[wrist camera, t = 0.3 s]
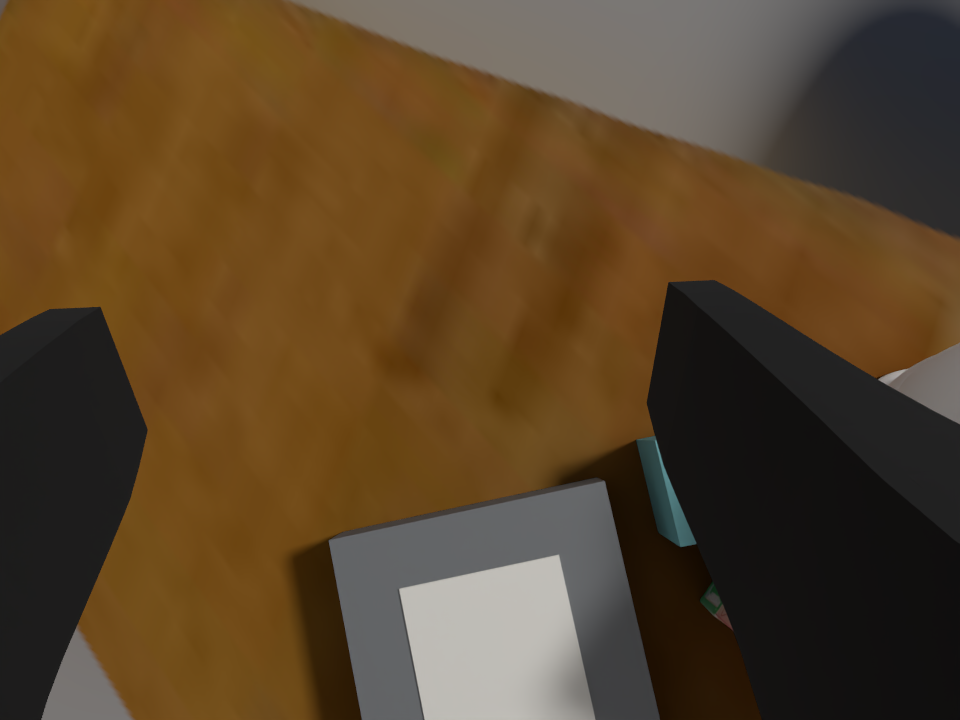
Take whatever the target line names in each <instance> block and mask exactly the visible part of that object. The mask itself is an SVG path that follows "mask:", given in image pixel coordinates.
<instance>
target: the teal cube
mask: <svg viewBox="0 0 960 720" xmlns="http://www.w3.org/2000/svg"><path fill="white" fill-rule="evenodd" d="M636 442H637V446H638V450H639V454H640V459H641V463H642V467H643V471H644V475H645V480H646V484H647V488H648V492H649V496H650V500H651V505H652V509H653V513H654V517H655V521H656V526H657V530H658V533H659V534H661V535H663V536H664V537H666V538H667V539H669V540H670V541H672V542H673V543H675V544H676V545H678V546H680V547H684V546H689V545H694V544H696V541H695V539H694V537H693V534H692V532H691V530H690V527H689V525H688V523H687V520H686V518H685V516H684V513H683V511H682V509H681V506H680V504H679V502H678V499H677V497H676V494H675V492H674V490H673V487H672V485H671V483H670V480H669V478H668V475H667V473H666V470H665V468H664V465H663V462H662V458H661V455H660V451H659V448H658V444H657V441H656V437H655V436H652V437H647V438H643V439H638V440H636Z"/></svg>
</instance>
